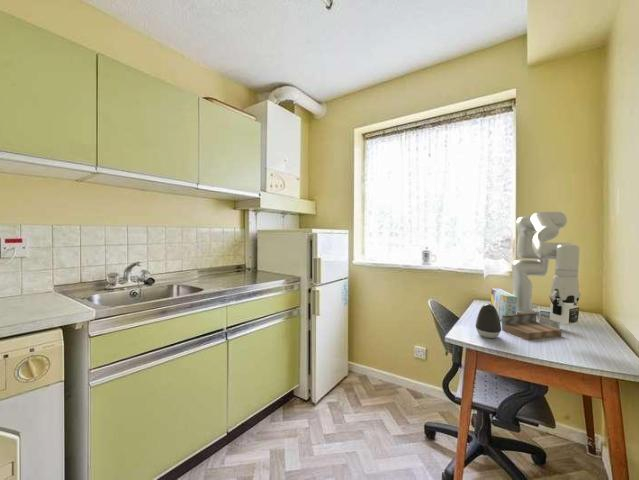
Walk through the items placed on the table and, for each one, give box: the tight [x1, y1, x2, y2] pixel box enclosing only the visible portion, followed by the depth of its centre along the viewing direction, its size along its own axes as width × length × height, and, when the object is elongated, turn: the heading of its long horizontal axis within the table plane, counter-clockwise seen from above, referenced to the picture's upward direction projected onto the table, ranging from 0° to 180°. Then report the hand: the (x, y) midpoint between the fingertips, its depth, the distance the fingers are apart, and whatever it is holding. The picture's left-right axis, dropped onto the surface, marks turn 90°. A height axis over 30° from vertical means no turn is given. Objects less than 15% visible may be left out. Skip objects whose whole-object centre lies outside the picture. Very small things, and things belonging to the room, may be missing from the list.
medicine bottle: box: [550, 296, 580, 326], centre depth 124 cm, size 7×7×12 cm
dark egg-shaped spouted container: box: [475, 303, 502, 339], centre depth 133 cm, size 10×10×15 cm
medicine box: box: [538, 308, 561, 329], centre depth 145 cm, size 8×4×9 cm, turn 47°
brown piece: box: [501, 311, 563, 341], centre depth 138 cm, size 20×14×7 cm
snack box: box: [490, 288, 517, 322], centre depth 160 cm, size 21×6×15 cm, turn 168°
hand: (564, 313), depth 124 cm, fingers closed on medicine bottle, 7 cm apart
